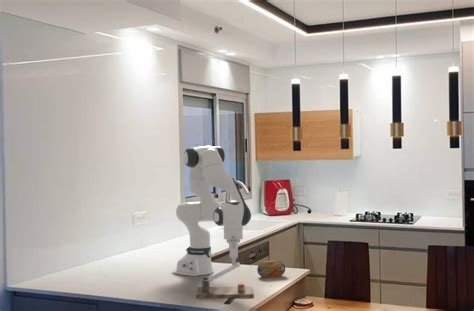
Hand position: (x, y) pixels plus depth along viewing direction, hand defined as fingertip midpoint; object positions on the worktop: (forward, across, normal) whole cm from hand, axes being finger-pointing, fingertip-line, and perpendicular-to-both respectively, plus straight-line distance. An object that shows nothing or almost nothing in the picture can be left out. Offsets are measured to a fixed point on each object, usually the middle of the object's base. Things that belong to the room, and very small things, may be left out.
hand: (233, 264), depth 251 cm
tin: (+14, +33, -20) cm, 41 cm away
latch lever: (+5, +1, +5) cm, 7 cm away
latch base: (+14, +1, +4) cm, 14 cm away
